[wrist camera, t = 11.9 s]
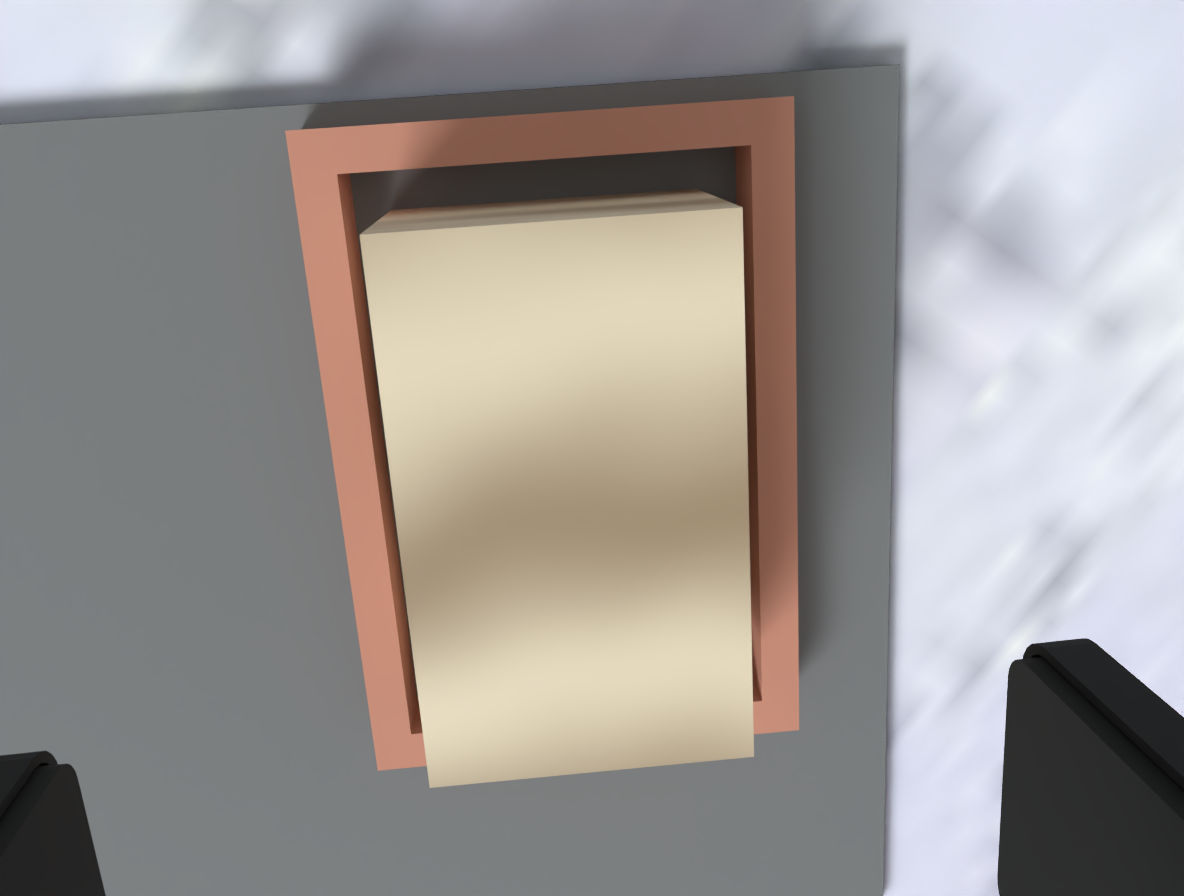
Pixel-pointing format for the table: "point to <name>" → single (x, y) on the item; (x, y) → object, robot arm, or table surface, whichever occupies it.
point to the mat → (365, 502)
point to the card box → (569, 478)
